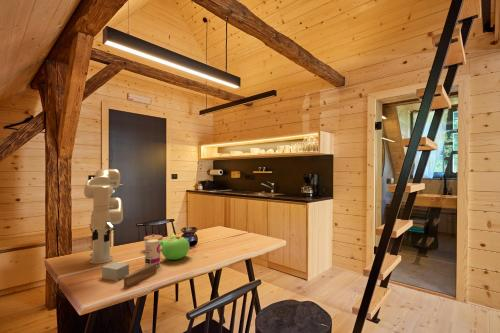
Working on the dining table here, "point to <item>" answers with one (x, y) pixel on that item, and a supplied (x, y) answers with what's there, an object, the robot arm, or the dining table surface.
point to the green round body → (175, 247)
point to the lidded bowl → (153, 238)
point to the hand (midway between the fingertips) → (100, 240)
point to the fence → (139, 275)
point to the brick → (115, 271)
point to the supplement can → (152, 252)
